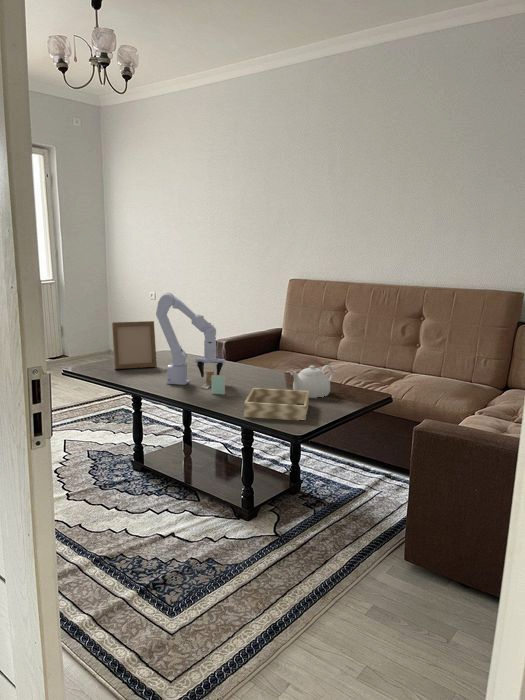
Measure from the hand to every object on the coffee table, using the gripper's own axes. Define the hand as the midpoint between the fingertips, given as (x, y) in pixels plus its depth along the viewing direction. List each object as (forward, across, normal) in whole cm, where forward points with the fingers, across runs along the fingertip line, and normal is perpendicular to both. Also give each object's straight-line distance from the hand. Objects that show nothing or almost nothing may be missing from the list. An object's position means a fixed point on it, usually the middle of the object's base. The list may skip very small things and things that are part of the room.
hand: (210, 377), depth 266 cm
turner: (+3, 0, -5) cm, 6 cm away
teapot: (+3, +50, -9) cm, 51 cm away
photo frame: (+3, -49, +26) cm, 55 cm away
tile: (+3, +8, -18) cm, 20 cm away
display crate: (+3, +37, -38) cm, 53 cm away
